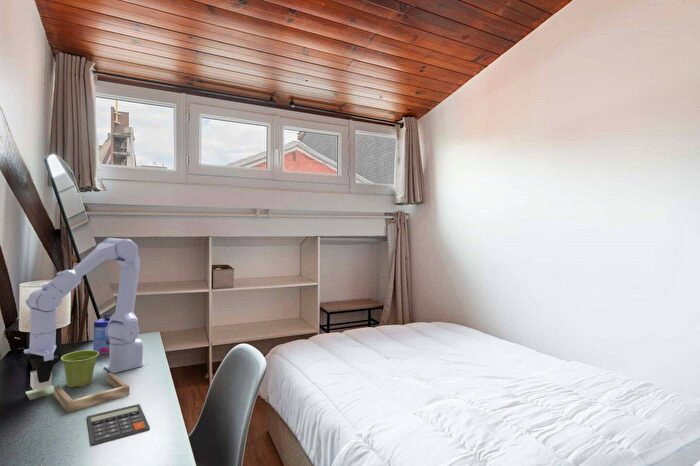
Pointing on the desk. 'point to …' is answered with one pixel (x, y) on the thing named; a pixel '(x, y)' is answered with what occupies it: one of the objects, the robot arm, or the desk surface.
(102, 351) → the ink cartridge box
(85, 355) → the plant pot
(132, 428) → the calculator
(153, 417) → the desk surface
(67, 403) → the brown bent bar
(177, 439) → the desk surface
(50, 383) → the cream block
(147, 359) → the desk surface
